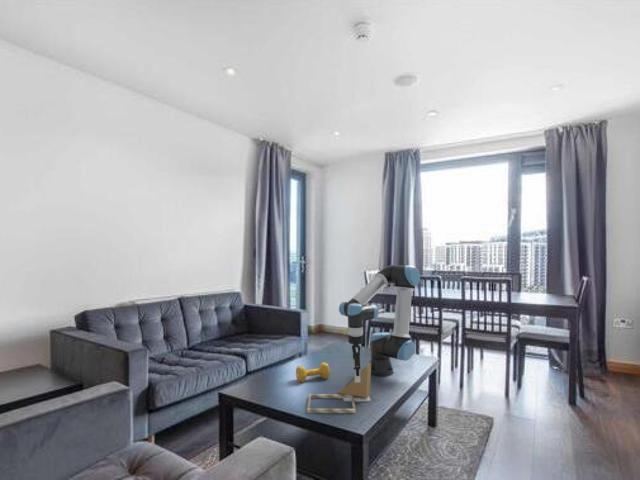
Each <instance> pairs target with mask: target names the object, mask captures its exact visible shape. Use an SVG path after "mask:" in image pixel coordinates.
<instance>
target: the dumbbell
mask: <svg viewBox="0 0 640 480" xmlns="http://www.w3.org/2000/svg"><path fill="white" fill-rule="evenodd" d="M330 374H331V371H330V366H329V364H328V363H326V362H320V364H319V366H318V368H311V369H306V368H305V366H303V365H298V366H296V369H295V376H296V377H295V378H296V380H297V381H298V383H304V382H306V379H307V377H313V376H318V375H319V376H320V378H322V379H324V380H326V379H329V378H330Z"/></svg>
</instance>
